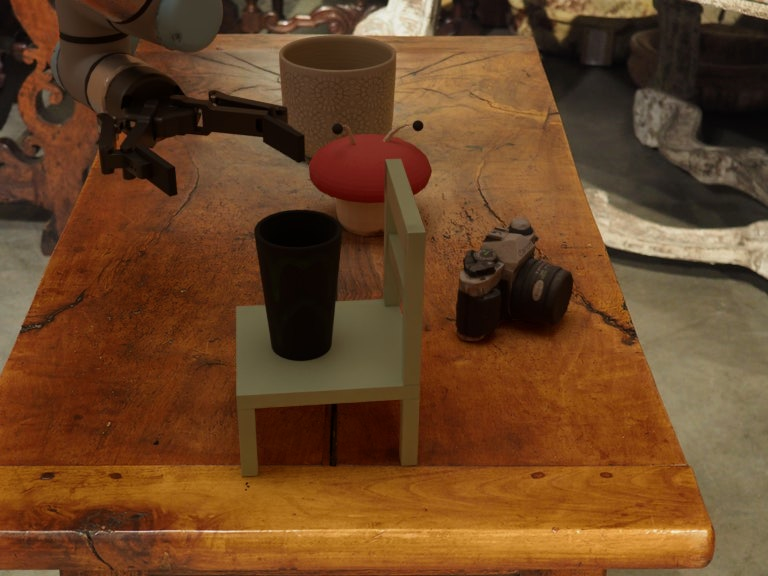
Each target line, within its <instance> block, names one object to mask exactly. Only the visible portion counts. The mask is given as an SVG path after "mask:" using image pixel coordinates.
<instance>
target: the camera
mask: <svg viewBox="0 0 768 576" xmlns="http://www.w3.org/2000/svg"><path fill="white" fill-rule="evenodd" d="M539 240H540V237H539V235H538V234H537V235H536V231H535V228H534V227H533V226H532V225H531V222H530V221H529V219H528V218H526V217H514V218H512V219H511V221H510V222H509V225H508V227H507V228H504V227H502V226H494V228H492V229H491V230H490V232H488V233H487V234H486V235H485V237H484V239H483V240H482V242H481V245H480V247H479V250H475V249H468V250H467V251H466V252H465V256H463V257H464V258H463V259H462V262H463V263H462V265H463V269H462V270H461V272H460V273H459V276H458V287H457V288H458V289H457V296H456V297H457V300H456V303H455V327H456V331H455V333H456V335H457V336H458V337H459V339H460V340H462V341H465V342H466V341H467V342H477V341H482V340H483V339H484V338H485V336H486V335H489V334H492V333H494V332H496V330H497V329H498V327H499V325H500V324H502V323H503V322H511V321H517V320H519V321H528V322H534V323H539V324H546V325H547V324H548V325H551V326H556V325H559V324H560V323H561V322H562V320H563V319H564V316H565V315H566V313H567V311H568V309H569V305H570V301H571V298H572V295H573V288H574V277H573V273H572V272H571V271H570V270H568V269H567V270H566V269H564V268H563V267H562V266H559V265H555V264H552V263H549V262H547V261H545V260H543V259H537V258H535V252H536V243H537V242H538V241H539Z"/></svg>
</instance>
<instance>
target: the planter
mask: <svg viewBox="0 0 768 576" xmlns="http://www.w3.org/2000/svg"><path fill="white" fill-rule="evenodd" d="M278 63H279V64H278V65H279V79H280V91H281V104H282V105H281V106H285V107H287V110H288V124H289V125H290V126H292V127H293V128H294V129H295V130H296V131H298V132H300V133H302V134H304V135H305V157H307V158H309V159H312V158H313V156H314V155H315V153H316V152H317V151H318V150H319V149H321V148H322V147H324V146H325V145H327V144H329V143H330V142H332V141H334V140H337V139H340V138H343V137H346V136H349V134H348V131H347V129H346V128H345V127H343V131H342V133H341V134H339V135H337V134H334V133H333V131H332V127H333V125H334V124H336V123H339V124H341V125H342V126H343V125H346V126H348V127H349V128H350V130H351V132H352V134H353V135H358V134H378V135H387V134H388V133H389V132H390V131H391V130H393V122H394V113H395V112H394V111H395V110H394V109H395V93H396V78H397V77H396V76H397V51H396V50H395V48H394V47H393V46H391V45H390V44H388V43H386V42H384V41H382V40H379V39H375V38H370V37H365V36H358V35H350V34H349V35H347V34H329V35H328V34H327V35H326V34H325V35H315V36H309V37H303V38H300V39H296V40H293V41H291V42H289V43H286V44H285V45H283V46H282V47H281V48H280V50H279V53H278Z"/></svg>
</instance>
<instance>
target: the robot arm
mask: <svg viewBox="0 0 768 576" xmlns="http://www.w3.org/2000/svg"><path fill="white" fill-rule="evenodd" d="M54 4H55V12H56V18H57V24H58V37H59V41H57V43H56V45H55V46H54V49H53V51H52V55H51V58H50V69H51V73H52V76H53V78H54V80H55V82H56V83H57V85H58V86H59V87H60V88H62V90H63V91H64V92H65V93H67V96H69V97H70V98H71V99H72V100H73V101H75V102H77V103H79V104H81V105H83V106H85V107H87V108H88V109H89V110H91V111H92V112H93V113H95V114H96V126H97V133H98V140H99V141H98V155H99V165H100V173H101V174H102V175H104V176H107V175H112V174H115V171H116V169H117V170H118V169H121V172H122V179H123V180H125V181H132V180H136V178H137V179H138V180H139V179H140V180H142V181H143V180H147V181H148V182H150V184H152V185H153V186H154V187H156V188H157V189H159V190H160V191H161V192H162V193H164V194H165V195H167V196H168V197H174V196H178V185H177V172H176V166H175V165H173V164H172V163H170V162H169V161H168V160H166V159H165V158H163V157H162V156H160V155H159V154H158V153H156V152H155V151H154V150H152V149H154V148H155V146H157V145H156V144H157V143H159V142H162V141H164V140H166V139H171V138H173V137H176V136H181V137H184V136H186V135H194V136H203V137H208V136H210V134H212V133H218V134H226V135H227V134H228V135H237V136H246V137H253V138H254V137H255V138H256V137H257V138H262V143H264V144H265V145H267V146H269V147H271V148H272V149H274V150H276V151H277V152H279V153H280V154H283V155H284V156H286V157H288V158H289V159H291V160H292V161H294V162H296V163H297V164H300V163H304V162H306V155H305V135H304V134H302V133H300V132H298V131H296V130H295V129H294V128H293V127H292V126H290V125H289V124H288V110H287V107H285V106H282V105H280V104H276V103H270V102H265V101H261V100H255V99H250V98H245V97H240V96H236V95H231V94H227V93H224V92H222V91H220V90H217V89H212V90H209V91H208V92H207V96H208V98H205V99H202V98H201V99H199V98H196V97H192V96H187V95H186V94H185V92H184V91H183V90H182V88H181V86H180V85H179V83H177V82H176V80H174V79H173V78H172V77H171V76H169V75H167V74H165V73H163V72H162V71H160V70H158V69H156V68H155V67H154V66H152V65H151V64H149V63H147V62H145V61H144V60H142V59H140V58H139V57H136V56H135V55H133V54H132V46H131V37H130V36H132V37H134V38H138V39H139V40H142V41H145V42H148V43H152V44H154V45H157V46H159V47H163V48H164V49H166V50H168V51H171V52H174V51H177V52H181V53H186V54H194V53H199V52H202V51H203V50H205V49H206V48H208V47H209V46H211V44H212V43H213V42H214V41H215V39H216V38H217V36H218V33H219V31H220V28H221V26H222V22H223V18H224V6H223V1H222V0H54ZM200 120H202V121H201V122H202V125H199V123H200ZM121 134H124V135H126V137H125V138H124V140H123V141H122V142H121V144H120V145H119V148H118V149H117V147H118V144H117V142H118V141H119V140H120V135H121Z"/></svg>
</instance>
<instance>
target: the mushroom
mask: <svg viewBox="0 0 768 576" xmlns="http://www.w3.org/2000/svg"><path fill="white" fill-rule="evenodd" d="M408 126H409V127H410V126H412V129H413V130H414V131H415V132H421V131H423V129H424V127H425V126H424V122H423V121H421V120H419V119H418V120H417V119H416V120H414V121H413V123H412V124H411V123H403V124H401V125H397V126H395V127H394V128H392V129H391V131H390V132H389V133H388V134H387V135H378V134H358V135H353V134H352V132H351V130H350V128H349V127H348V126H346V125H343V126H342V125H341V124H339V123H336V124H334V125H333V127H332V131H333V133H334V134H337V135H339V134H341V133H342V131H343V127H345V128H346V129H347V131H348V134H349V136H346V137H343V138H340V139H337V140H334V141H332V142H330V143H329V144H327V145H325V146H324V147H322V148H321V149H319V150H318V151H317V152H316V153H315V155H314V156H313V158H310V159H311V160H310V161H309V163H308V174H309V178H310V181H311V184H312V185H313V186H314V187H315V188H316V189H317V190H318V191H319V192H320V193H322V194H324V195H327V196H329V197H330V198H334V199H335V211H336V216H337V220H338V221H339V222H340V224H341V225H342V228H344V229H345V230H346V231H347V232H349V233H351V234H353V235H357V236H362V237H380V236H384V205H385V159H401V160H402V163H403V166H404V169H405V172H406V175H407V178H408V181H409V184H410V187H411V190H412V193H413V196H415V195H418V194H419V193H420V192H422V191H423V190H424V189H425V188H426V187H427V186H428V184H429V182H430V180H431V177H432V172H433V171H432V166H431V163H430V160H429V158H428V156H427V155H426V154H425V153H424V152H423V151H422V150H421V149H419V147H417V146H416V145H414V144H413V143H411V142H408V141H406V140H404V139H401V138H399V137H395V136H394V135H395V134H396V133H398V132H399V131H401V129H403V128H405V127H408Z"/></svg>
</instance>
